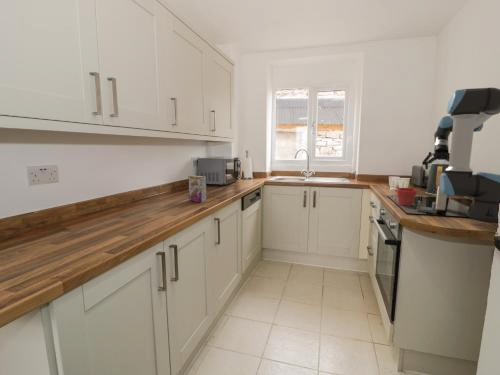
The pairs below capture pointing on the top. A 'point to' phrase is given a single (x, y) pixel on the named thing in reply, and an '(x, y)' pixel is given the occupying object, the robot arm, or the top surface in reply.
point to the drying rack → (426, 208)
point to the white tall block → (440, 200)
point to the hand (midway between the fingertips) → (441, 173)
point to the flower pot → (406, 196)
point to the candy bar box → (197, 188)
